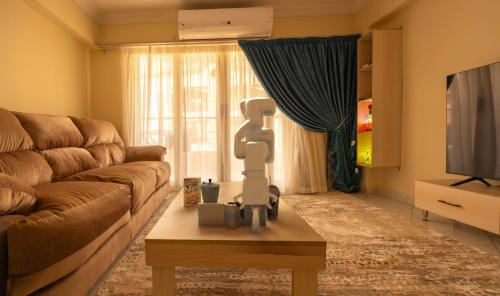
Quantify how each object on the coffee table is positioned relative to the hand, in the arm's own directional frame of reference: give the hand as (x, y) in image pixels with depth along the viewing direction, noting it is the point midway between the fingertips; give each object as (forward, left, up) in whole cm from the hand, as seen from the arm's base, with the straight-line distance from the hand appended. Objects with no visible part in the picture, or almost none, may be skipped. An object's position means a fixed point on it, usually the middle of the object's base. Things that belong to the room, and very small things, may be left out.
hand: (255, 218), depth 103 cm
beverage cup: (-19, -5, -6) cm, 21 cm away
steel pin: (0, 0, -6) cm, 6 cm away
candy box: (-14, -54, -6) cm, 56 cm away
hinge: (-1, -13, -6) cm, 14 cm away
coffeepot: (-5, -31, -6) cm, 32 cm away
